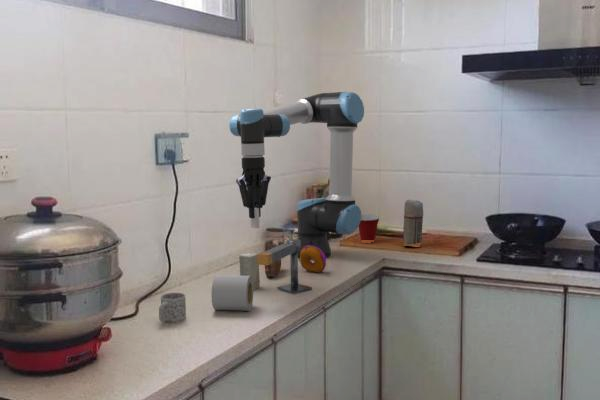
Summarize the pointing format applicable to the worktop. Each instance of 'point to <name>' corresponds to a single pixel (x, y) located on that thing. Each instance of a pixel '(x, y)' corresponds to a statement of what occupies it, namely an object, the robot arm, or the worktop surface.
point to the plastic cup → (368, 226)
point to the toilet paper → (232, 292)
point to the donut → (315, 255)
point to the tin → (273, 268)
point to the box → (250, 267)
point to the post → (294, 278)
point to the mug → (172, 308)
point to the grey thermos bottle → (413, 222)
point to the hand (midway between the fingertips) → (255, 227)
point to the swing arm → (279, 252)
